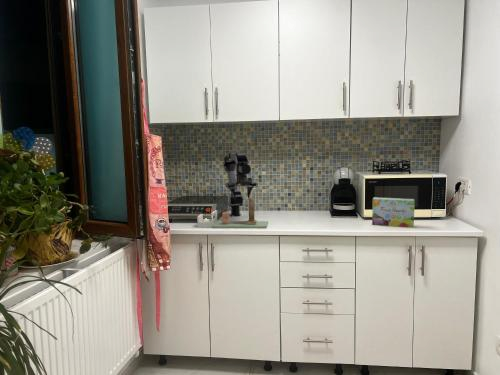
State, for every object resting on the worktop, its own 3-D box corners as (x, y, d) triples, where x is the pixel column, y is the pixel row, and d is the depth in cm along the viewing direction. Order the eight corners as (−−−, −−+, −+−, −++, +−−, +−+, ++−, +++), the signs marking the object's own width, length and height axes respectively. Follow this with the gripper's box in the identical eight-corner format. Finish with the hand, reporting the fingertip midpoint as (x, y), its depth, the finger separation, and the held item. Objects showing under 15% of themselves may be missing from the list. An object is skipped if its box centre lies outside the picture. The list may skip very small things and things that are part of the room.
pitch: (203, 222, 217) (202, 209, 216) (268, 222, 213) (267, 209, 212) (197, 227, 203) (196, 213, 203) (266, 228, 199) (266, 213, 198)
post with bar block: (223, 222, 211) (222, 197, 210) (256, 222, 209) (256, 197, 207) (221, 223, 206) (220, 198, 205) (255, 224, 204) (255, 198, 202)
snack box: (371, 225, 201) (372, 198, 200) (372, 223, 207) (373, 196, 205) (413, 228, 193) (414, 199, 191) (413, 225, 198) (414, 198, 196)
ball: (203, 217, 212) (210, 217, 211) (203, 224, 212) (210, 224, 212) (202, 218, 208) (209, 219, 207) (202, 225, 208) (208, 226, 208)
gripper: (231, 174, 211) (231, 201, 213) (260, 173, 219) (260, 198, 220) (224, 173, 221) (225, 198, 223) (252, 172, 229) (253, 196, 231)
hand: (241, 198), depth 224 cm, fingers open, 9 cm apart
